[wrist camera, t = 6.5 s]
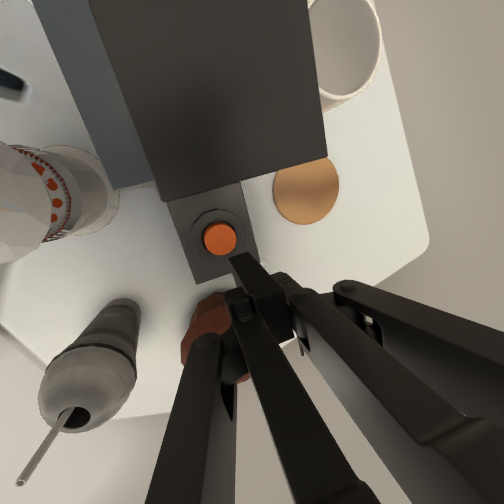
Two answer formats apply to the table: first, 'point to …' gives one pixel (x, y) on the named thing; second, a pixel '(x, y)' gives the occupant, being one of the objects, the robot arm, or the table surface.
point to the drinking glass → (344, 47)
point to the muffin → (208, 323)
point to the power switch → (201, 217)
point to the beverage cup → (89, 376)
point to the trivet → (306, 191)
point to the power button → (219, 238)
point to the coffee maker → (190, 87)
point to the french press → (50, 197)
